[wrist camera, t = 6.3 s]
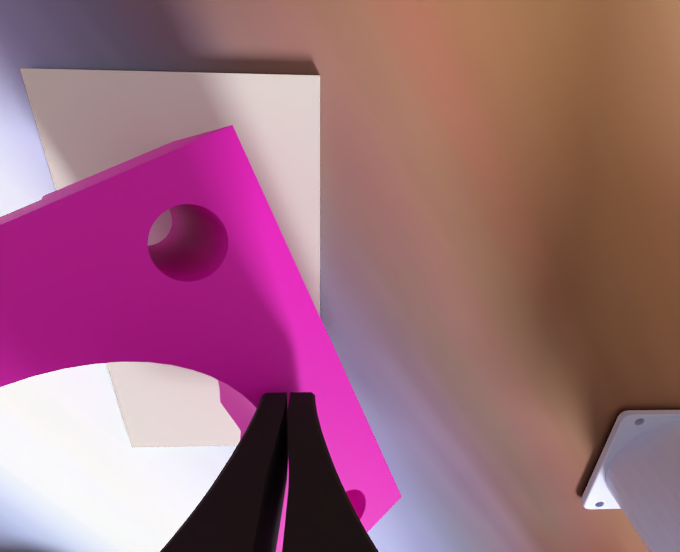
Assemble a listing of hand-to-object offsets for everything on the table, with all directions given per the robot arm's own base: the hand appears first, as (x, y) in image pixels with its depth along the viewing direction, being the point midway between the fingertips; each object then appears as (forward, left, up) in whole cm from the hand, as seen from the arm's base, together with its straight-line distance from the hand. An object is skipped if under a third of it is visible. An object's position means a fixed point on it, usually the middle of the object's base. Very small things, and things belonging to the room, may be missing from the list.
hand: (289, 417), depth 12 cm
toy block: (0, 0, -4) cm, 4 cm away
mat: (+4, 0, -7) cm, 8 cm away
